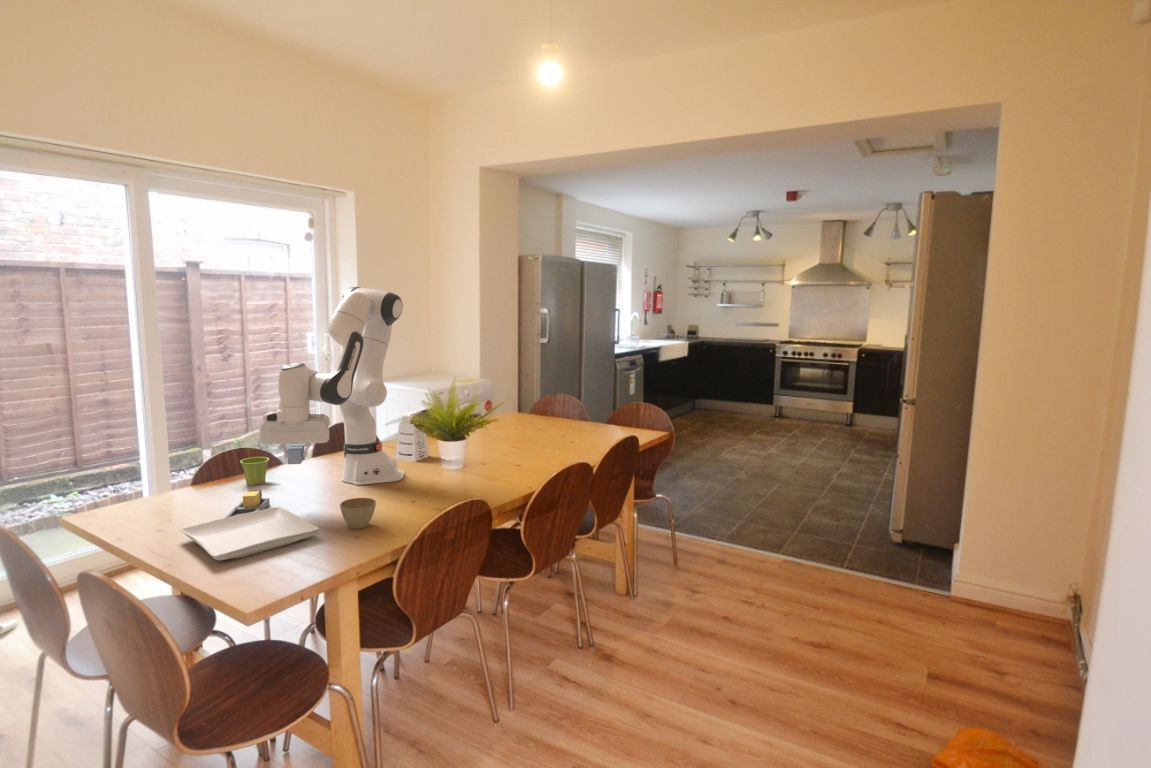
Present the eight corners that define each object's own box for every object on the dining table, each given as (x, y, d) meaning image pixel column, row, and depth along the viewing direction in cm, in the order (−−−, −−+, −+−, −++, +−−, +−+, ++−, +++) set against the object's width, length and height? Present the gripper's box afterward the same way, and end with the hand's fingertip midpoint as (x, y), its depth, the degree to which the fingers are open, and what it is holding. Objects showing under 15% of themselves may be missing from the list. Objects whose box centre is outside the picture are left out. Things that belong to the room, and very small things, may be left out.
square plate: (214, 570, 148) (213, 555, 148) (179, 541, 166) (178, 527, 165) (321, 539, 168) (320, 526, 168) (280, 516, 186) (279, 504, 186)
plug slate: (304, 459, 196) (304, 445, 195) (300, 464, 190) (300, 449, 190) (292, 459, 195) (291, 445, 195) (287, 464, 189) (287, 450, 189)
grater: (429, 456, 263) (429, 411, 260) (415, 462, 253) (414, 415, 250) (409, 454, 266) (408, 409, 264) (394, 459, 257) (393, 413, 254)
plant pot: (275, 479, 224) (274, 457, 223) (260, 487, 215) (258, 463, 214) (251, 478, 225) (250, 456, 224) (235, 486, 216) (234, 462, 215)
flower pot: (343, 534, 172) (342, 510, 171) (339, 523, 181) (338, 500, 180) (379, 528, 177) (378, 505, 176) (373, 518, 185) (372, 495, 184)
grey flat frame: (269, 504, 196) (269, 498, 196) (252, 524, 179) (251, 516, 179) (244, 506, 195) (243, 499, 195) (224, 525, 177) (223, 518, 177)
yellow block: (262, 503, 195) (261, 489, 194) (256, 509, 189) (255, 495, 188) (249, 504, 194) (248, 490, 193) (243, 510, 188) (242, 496, 187)
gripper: (331, 412, 196) (332, 453, 198) (263, 413, 192) (264, 455, 193) (327, 415, 190) (328, 458, 192) (257, 416, 186) (258, 460, 187)
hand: (295, 456), depth 192 cm, fingers closed on plug slate, 4 cm apart
